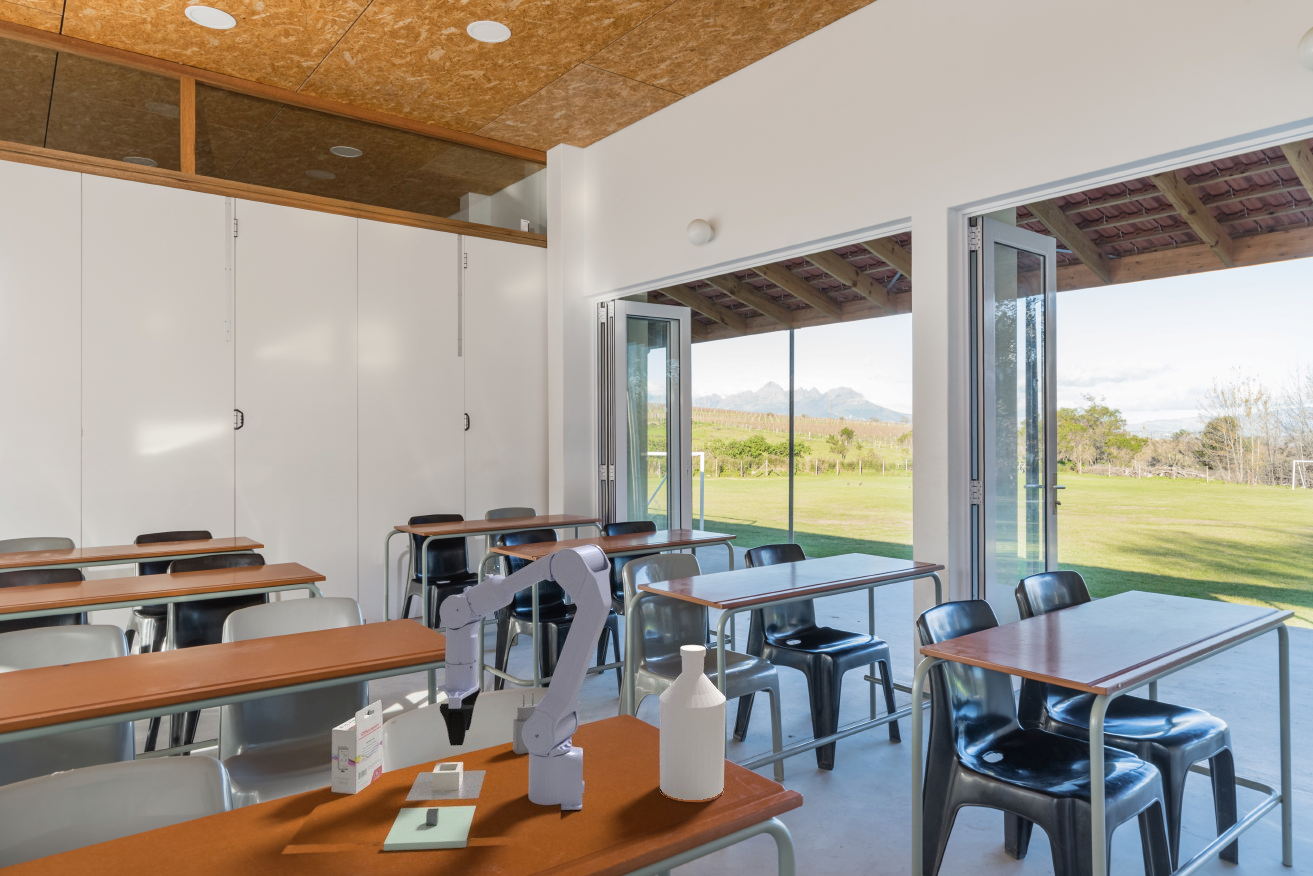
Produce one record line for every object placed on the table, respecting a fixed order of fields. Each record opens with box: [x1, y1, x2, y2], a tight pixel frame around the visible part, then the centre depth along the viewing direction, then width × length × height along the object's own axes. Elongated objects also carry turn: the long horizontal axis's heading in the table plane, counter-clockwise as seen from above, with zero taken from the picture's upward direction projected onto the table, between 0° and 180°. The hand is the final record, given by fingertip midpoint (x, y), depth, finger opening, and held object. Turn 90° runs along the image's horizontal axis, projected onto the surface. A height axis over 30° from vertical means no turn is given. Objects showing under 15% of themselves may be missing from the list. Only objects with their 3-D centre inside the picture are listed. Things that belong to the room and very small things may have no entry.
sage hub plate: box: [383, 805, 477, 852], centre depth 122 cm, size 12×12×3 cm
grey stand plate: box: [405, 769, 487, 802], centre depth 137 cm, size 12×12×3 cm
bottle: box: [659, 644, 727, 800], centre depth 139 cm, size 12×12×25 cm
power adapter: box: [512, 692, 538, 755], centre depth 154 cm, size 3×5×12 cm, turn 118°
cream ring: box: [431, 761, 464, 791], centre depth 137 cm, size 5×5×3 cm
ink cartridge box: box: [331, 699, 384, 795], centre depth 138 cm, size 9×5×15 cm, turn 168°
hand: (460, 737), depth 140 cm, fingers open, 7 cm apart
